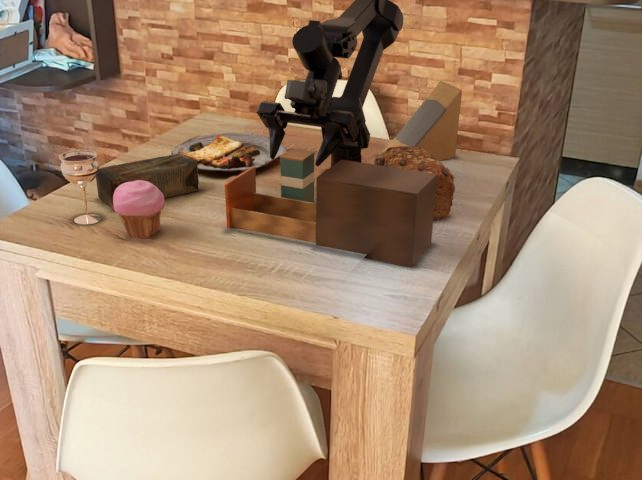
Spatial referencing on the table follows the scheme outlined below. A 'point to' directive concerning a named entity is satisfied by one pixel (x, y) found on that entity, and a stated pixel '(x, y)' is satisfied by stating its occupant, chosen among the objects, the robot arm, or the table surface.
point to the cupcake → (139, 207)
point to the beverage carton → (150, 176)
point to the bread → (425, 163)
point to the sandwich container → (434, 123)
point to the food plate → (228, 151)
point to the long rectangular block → (297, 175)
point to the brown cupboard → (375, 211)
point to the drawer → (267, 210)
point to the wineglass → (81, 176)
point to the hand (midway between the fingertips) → (293, 161)
